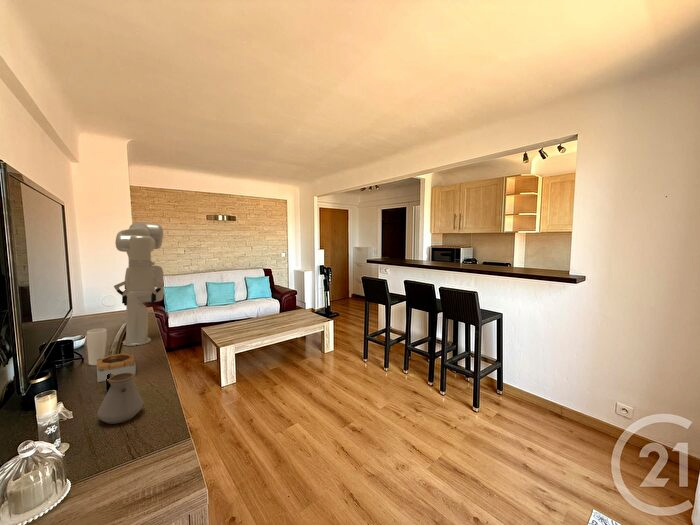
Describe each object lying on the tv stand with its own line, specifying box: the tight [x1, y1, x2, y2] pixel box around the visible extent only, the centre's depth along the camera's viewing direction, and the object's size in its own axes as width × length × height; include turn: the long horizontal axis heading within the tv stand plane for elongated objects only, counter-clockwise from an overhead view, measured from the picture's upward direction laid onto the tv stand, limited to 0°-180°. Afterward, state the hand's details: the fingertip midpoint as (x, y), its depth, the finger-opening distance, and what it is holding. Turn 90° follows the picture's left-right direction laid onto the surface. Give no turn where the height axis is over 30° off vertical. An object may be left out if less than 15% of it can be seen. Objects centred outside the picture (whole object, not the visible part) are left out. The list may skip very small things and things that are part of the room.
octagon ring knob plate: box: [96, 353, 137, 383], centre depth 123 cm, size 16×12×6 cm
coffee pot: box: [96, 373, 144, 425], centre depth 88 cm, size 21×12×15 cm, turn 40°
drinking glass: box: [86, 328, 108, 366], centre depth 130 cm, size 7×7×15 cm
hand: (139, 304), depth 125 cm, fingers open, 9 cm apart
